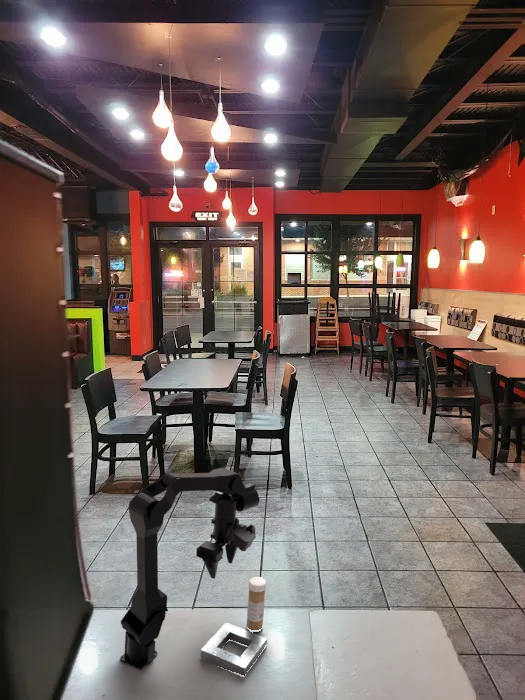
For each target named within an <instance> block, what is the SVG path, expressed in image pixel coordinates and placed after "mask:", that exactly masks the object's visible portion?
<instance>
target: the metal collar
mask: <svg viewBox="0 0 525 700" xmlns="http://www.w3.org/2000/svg"><path fill="white" fill-rule="evenodd" d="M229 639H230V640H233V641H236V642H239V643H241V644H244V645H247V646H248V648H245V650H244V652H243V653H242V654H241V656H239V655H236V654H234V653H232V652H230V651H227V650H225V649H224V648H223V646H224V645H225V644H226V642H227V641H228V640H229ZM266 644H267V645H268V638H267V637H265V636H261V635H259V634H258V633H252V632H249V631H248V630H247V629H243V628H241V627H239V626H236V625H234V624H231V623H228V622H225V623H224V624H223V625H222V627H221V626H220V628H219V630H218V631H217V632H216V633H215V634H214V635H213V636H212V637H211V638H210V639H209V640H208V641H207V643H206V644H205V645H204V646H203V647H202V648H201V649H200V660H201V661H203V662H205V663H208V664H211V665H212V664H213V665H212V666H214V665H216V666H215V667H217V666H219V667H222V668H224V669H227V670H230V671H232V672H236V673H239V674H241V675H244V676H245V674H246V673H247V671H248V670H249V669H250V667H251V666H252V665H253V663H254V662H255V661H256V659H257V658H258V656H259V655H260V653H261V652H262V650H263V649H264V647H265V645H266ZM226 645H227V644H226ZM226 645H225V646H226ZM222 648H223V649H222ZM219 667H218V668H219ZM224 669H223V670H224Z"/></svg>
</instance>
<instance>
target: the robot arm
mask: <svg viewBox="0 0 525 700" xmlns="http://www.w3.org/2000/svg"><path fill="white" fill-rule="evenodd" d="M202 491H207V492H208V491H214V494H213V495H211V496H210V498H209V499H208V500H209V502H210V503H213V504H215V507H214V517H213V518H212V519H211V522H210V523H211V524H213V532H212V533H210V539H213V540H214V541H215V542H211V541H208V540H206V541H204V542H202V544H200V545H199V546H198V547H196V552H195V553H196V554H195V555H196V557H197V558H199V559H202V561H203V563H204V565H205V567H206V569H207V571H208V573H209V576H210V578H211V579H216V575H217V572H218V571H217V570H218V566H219V562H220V561H221V560H222V559H223V558H224V556H223V555H224V548H225V553H226V559H227V563H229V564H230V565H231V564H233V561H234V559H235V557H236V553H237V551H238V549H239V550H240V551H241V552H246V551H247V550H248V549H249V548H251V546H252V545H253V544H252V543H253V541H254V540H255V539H256V538H257V536H256V526H255V525H253V524H252V523H251V524H249V525H246V524H243V523H240V520H239V518H237V517H236V516H237V512H238V513H239V512H240V513H241V512H244V511H246V510H250V509H252V508H256V507H258V505H259V504H260V496H259V493H258V491H257V490H256V485H255V484H253V483H251V482H249V483H247V484H244V483H243V481H242V477H241V474H240V473H237V472H235V471H233V470H230V469H228V468H226V467H218V468H215V469H212V470H211V471H210V472H198V473H197V472H196V473H194V472H189V473H183V472H182V473H181V472H180V473H178V472H177V473H173V472H165V473H164V474H163V475H162V476H160V478H159V479H158V480H155V481H154V482H151V483H150V484H148V485H146V486H144V488H143V489H141V490H140V492H138V494H136V495H134V496H133V498H131V500H130V501H129V502H128V514H129V519H130V522H131V524H132V526H133V529H134V531H135V533H136V575H137V577H136V579H137V580H136V583H137V585H136V586H137V587H136V588H137V589H136V590H135V592H134V594H133V596H132V599H131V605H130V607H129V609H127V612H126V613H125V614H124V616H123V617H122V619H121V620H120V624H121V628H122V629H123V630H125V635H124V636H125V637H124V639H125V640H124V653H123V654H122V655H121V656H120V657H119V660H120V661H121V662H123V663H125V664H127V665H129V666H131V667H133V668H134V669H137V670H142V669H144V668H145V667H146V666H147V665H148V664H149V662H151V661H152V660H153V659H154V658H155V657H156V656H157V655H158V651H157V650H156V639H158V638H159V635H160V632H161V629H162V626H163V622H164V621H165V619H166V614H167V612H169V609H168V605H167V604H168V595H167V594H166V593H164V592H163V591H162V590H161V589H160V588H159V565H158V564H159V562H158V561H159V558H158V557H159V555H158V553H159V551H158V550H159V549H158V547H159V546H158V533H159V531H160V530H161V528H162V526H163V524H164V520H165V519H164V517H165V515H166V514H167V513H168V512H169V511H170V510H171V509H172V508H173V505H174V503H175V501H176V498H177V496H178V495H179V494H180V493H181V492H182V493H185V492H202ZM164 492H165V493H164ZM162 493H164V495H163V497H162V498H161V499H160V500H158V499H156V498H155V497H156V496H158V495H160V494H162Z"/></svg>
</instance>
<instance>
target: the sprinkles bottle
mask: <svg viewBox="0 0 525 700" xmlns="http://www.w3.org/2000/svg"><path fill="white" fill-rule="evenodd" d="M266 588H267V581H266V579H265V578H263V577H261V576H253V577H251V578H250V579H249V580H248V589H249V590H248V599H247V601H248V602H247V615H246V625H247V627H248V628H249V629H251V630H259V629H261V628H262V626H263V627H264V625H263V622H264V615H265V614H264V613H265V603H266V601H265V597H266V596H265V594H266Z"/></svg>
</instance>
